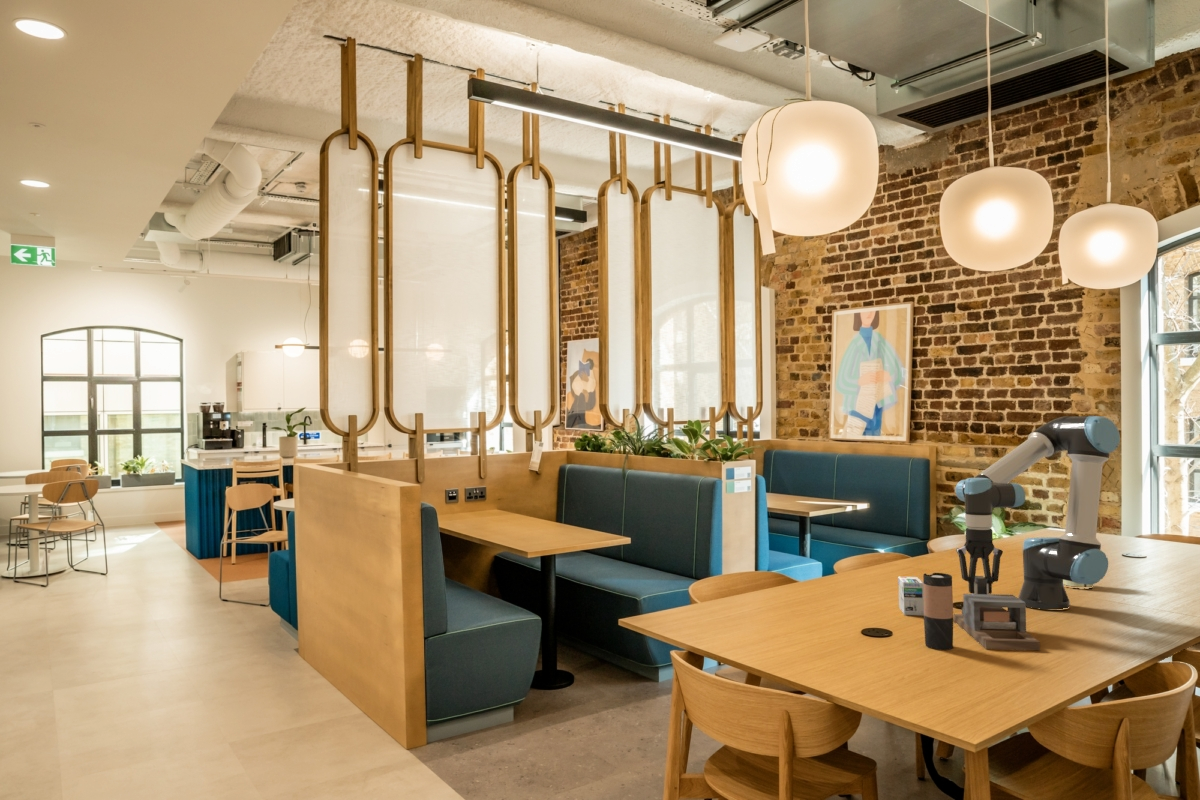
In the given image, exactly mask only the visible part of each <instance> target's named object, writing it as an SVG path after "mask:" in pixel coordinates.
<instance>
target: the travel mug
mask: <svg viewBox="0 0 1200 800" xmlns="http://www.w3.org/2000/svg"><path fill="white" fill-rule="evenodd" d="M922 582H923V589H924V616H923V626H924V641H925V643H924V644H925V647H927V648H929V649H933V650H938V651H949V650H952V649H953V647H954V646H953V645H954V602H953V601H954V599H953V597H954V595H953V593H954V592H953V576H952V575H951V574H949V573H943V572H933V573H932V574H928V573H925V572H924V573H923V579H922Z"/></svg>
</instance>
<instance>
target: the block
mask: <svg viewBox="0 0 1200 800" xmlns="http://www.w3.org/2000/svg"><path fill="white" fill-rule="evenodd" d="M980 620H982V621H1009V612H1008V609H1005V607H980Z"/></svg>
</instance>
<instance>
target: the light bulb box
mask: <svg viewBox="0 0 1200 800" xmlns="http://www.w3.org/2000/svg"><path fill="white" fill-rule="evenodd" d="M897 580H898V581H897V582H898V583H897V584H898V608H899V610H900V611H901V613H903V615H904V616H919V617H924V589H923V580H921V579H920V578H919V577H918V576H902V575H901V576H900V575H899V576H898V577H897Z"/></svg>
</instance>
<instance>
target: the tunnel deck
mask: <svg viewBox="0 0 1200 800" xmlns="http://www.w3.org/2000/svg"><path fill="white" fill-rule="evenodd" d="M962 595H963V596H962V598H963V599H962V601H963V603H962V604H963V608H964V615H962V613H953V623H954V624H956V623H957V624H958V625H959V626H958V625H957V624H956V625H957V626H958V627H959V628H961V629H962V630H963V629H964V630H965V631H966V632H967V633H966V632H965V631H964V630H963V631H964V632H965V633H966V634H967V635H969V637H971V636H972V637H973V638H974V639H973V638H972V637H971V638H972V639H973V640H974V641H976V642H977V643H978V642H979V643H978V644H979V645H980V644H981V645H980V646H981V647H983V649H985V650H992V649H994V650H996V651H997V650H998V651H999V650H1000V651H1026V650H1040V651H1041V643H1040V640H1038V639H1036V638H1035V637H1034V636H1032V635H1030V634H1029V633H1028V632H1027V614H1026V612H1027V607H1026V603H1025V602H1024V601H1022V600H1020V599H1019V597H1017V596H1016V595H1014V594H994V593H993V594H992V593H991V594H972V593H963V594H962ZM980 607H1002V608H1007V611H1008V612H1009V618H1010V619H1012V620H1013V621H1015V622H1016V629H980Z"/></svg>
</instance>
